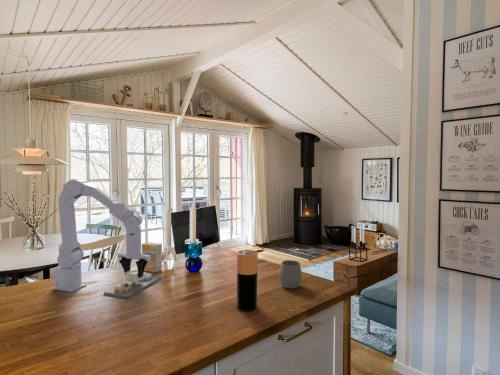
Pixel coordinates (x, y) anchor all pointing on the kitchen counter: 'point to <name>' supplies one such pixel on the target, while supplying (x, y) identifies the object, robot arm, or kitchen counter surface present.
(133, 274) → the loose gear
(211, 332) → the kitchen counter surface
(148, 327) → the kitchen counter surface
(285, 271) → the cup
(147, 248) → the supplement box
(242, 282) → the battery
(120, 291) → the gear board
